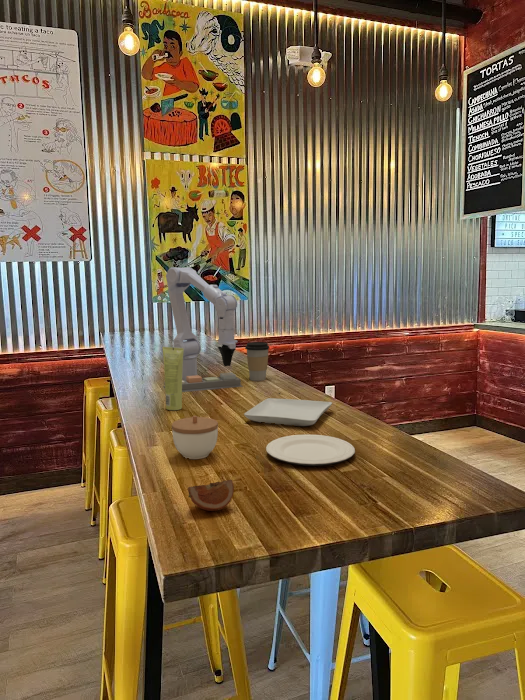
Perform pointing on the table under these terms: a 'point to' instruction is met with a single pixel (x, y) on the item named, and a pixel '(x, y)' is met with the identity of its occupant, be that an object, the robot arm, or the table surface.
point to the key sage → (210, 379)
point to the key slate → (227, 376)
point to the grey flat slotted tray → (210, 385)
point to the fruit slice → (212, 495)
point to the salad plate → (288, 411)
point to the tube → (173, 377)
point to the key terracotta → (193, 379)
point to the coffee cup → (257, 360)
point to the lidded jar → (195, 436)
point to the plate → (310, 450)
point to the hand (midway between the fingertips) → (227, 365)
